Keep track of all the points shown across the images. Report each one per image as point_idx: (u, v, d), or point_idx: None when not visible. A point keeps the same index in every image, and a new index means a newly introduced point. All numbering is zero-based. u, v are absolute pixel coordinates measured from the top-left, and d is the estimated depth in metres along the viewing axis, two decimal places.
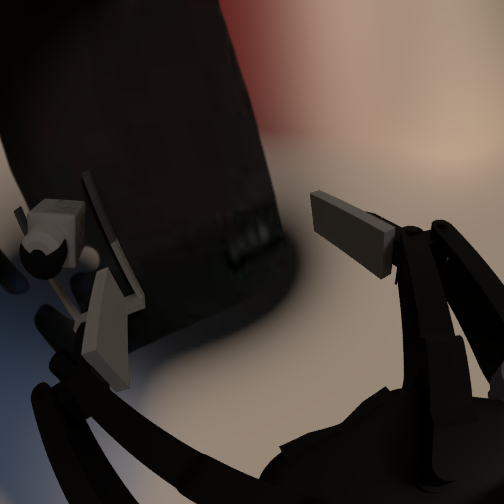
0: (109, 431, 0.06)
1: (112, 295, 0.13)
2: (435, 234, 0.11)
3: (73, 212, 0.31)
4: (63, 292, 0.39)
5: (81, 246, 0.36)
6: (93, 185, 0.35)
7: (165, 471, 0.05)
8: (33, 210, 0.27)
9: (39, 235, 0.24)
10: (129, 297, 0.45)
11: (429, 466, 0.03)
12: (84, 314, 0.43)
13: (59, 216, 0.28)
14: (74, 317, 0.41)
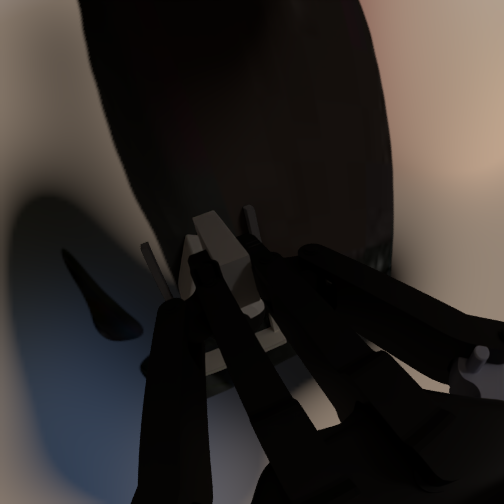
0: (220, 344, 0.08)
1: None
2: (307, 265, 0.11)
3: None
4: None
5: None
6: None
7: (249, 399, 0.06)
8: None
9: None
10: (264, 332, 0.46)
11: (436, 478, 0.03)
12: (209, 354, 0.45)
13: None
14: None
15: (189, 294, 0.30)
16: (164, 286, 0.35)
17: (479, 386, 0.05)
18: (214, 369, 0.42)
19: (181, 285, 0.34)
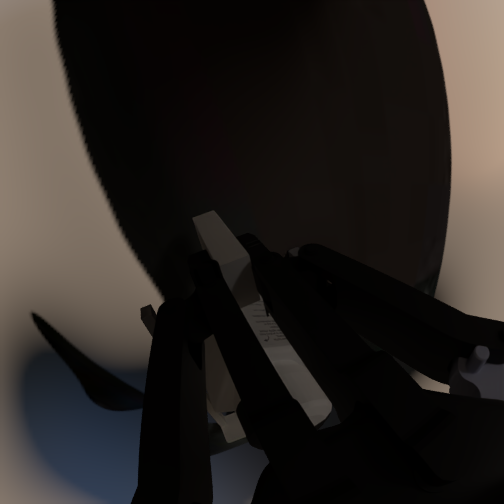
0: (220, 344, 0.08)
1: None
2: (307, 265, 0.11)
3: None
4: None
5: None
6: None
7: (249, 399, 0.06)
8: None
9: (312, 408, 0.15)
10: None
11: (436, 478, 0.03)
12: (233, 416, 0.34)
13: None
14: (221, 424, 0.32)
15: (219, 388, 0.19)
16: None
17: (479, 386, 0.05)
18: (240, 436, 0.31)
19: None
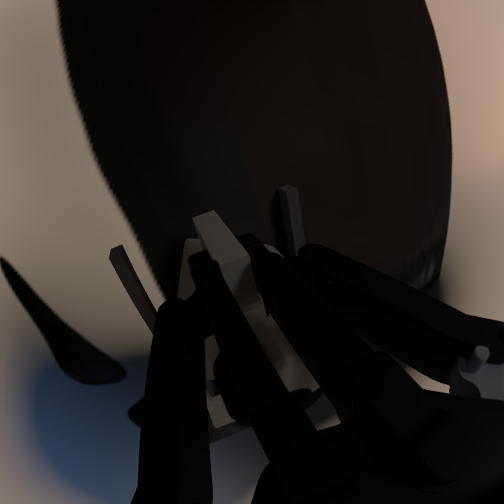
0: (220, 344, 0.08)
1: None
2: (307, 265, 0.11)
3: None
4: None
5: None
6: None
7: (249, 399, 0.06)
8: None
9: None
10: None
11: (436, 478, 0.03)
12: (221, 397, 0.31)
13: None
14: (208, 405, 0.29)
15: None
16: (151, 316, 0.21)
17: (479, 386, 0.05)
18: (229, 420, 0.28)
19: None
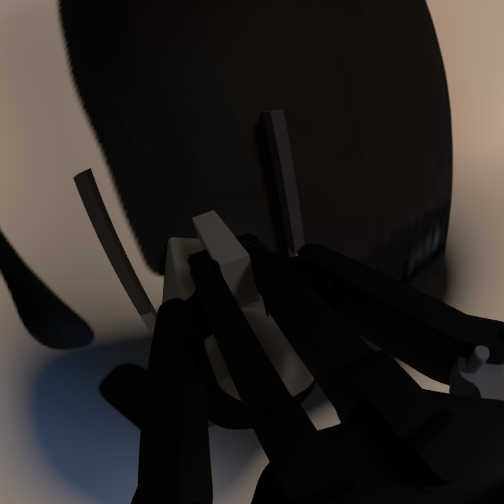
0: (220, 344, 0.08)
1: None
2: (307, 265, 0.11)
3: None
4: None
5: None
6: None
7: (250, 399, 0.06)
8: (190, 280, 0.15)
9: (286, 366, 0.12)
10: None
11: (436, 478, 0.03)
12: None
13: None
14: None
15: None
16: (117, 252, 0.18)
17: (479, 386, 0.05)
18: None
19: None
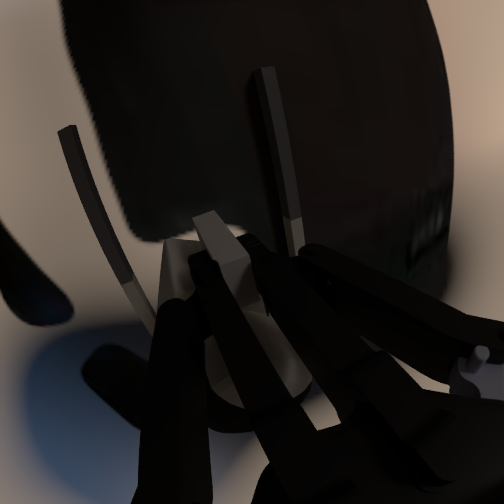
0: (220, 344, 0.08)
1: None
2: (308, 265, 0.11)
3: None
4: None
5: None
6: None
7: (249, 399, 0.06)
8: (185, 282, 0.15)
9: (280, 370, 0.11)
10: None
11: (436, 478, 0.03)
12: None
13: None
14: None
15: None
16: (97, 211, 0.16)
17: (479, 386, 0.05)
18: None
19: None
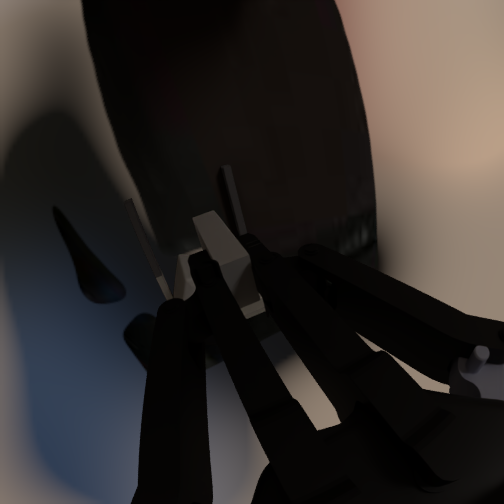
0: (220, 344, 0.08)
1: None
2: (307, 265, 0.11)
3: None
4: None
5: None
6: None
7: (249, 399, 0.06)
8: (189, 274, 0.35)
9: None
10: None
11: (436, 478, 0.03)
12: None
13: None
14: None
15: None
16: (145, 242, 0.36)
17: (479, 386, 0.05)
18: None
19: (175, 297, 0.39)
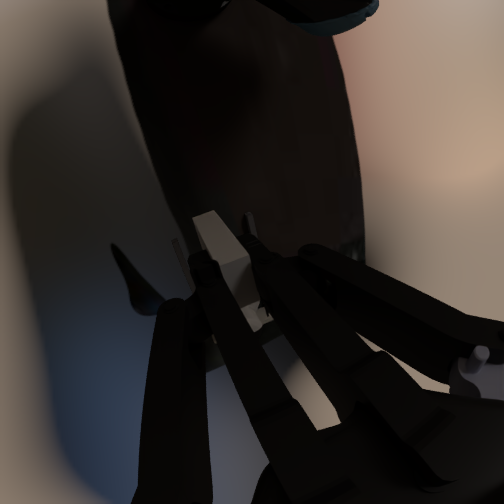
0: (220, 344, 0.08)
1: None
2: (307, 265, 0.11)
3: None
4: None
5: None
6: None
7: (249, 399, 0.06)
8: None
9: (250, 320, 0.45)
10: (261, 310, 0.61)
11: (436, 478, 0.03)
12: None
13: None
14: None
15: None
16: (187, 270, 0.49)
17: (479, 386, 0.05)
18: None
19: None
